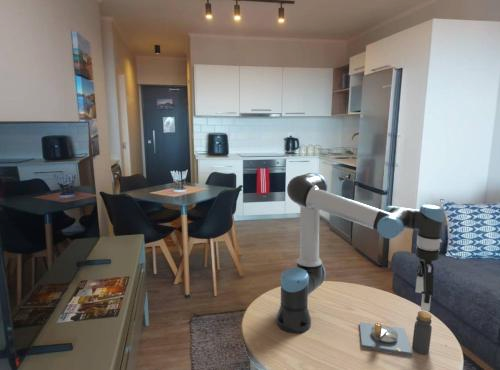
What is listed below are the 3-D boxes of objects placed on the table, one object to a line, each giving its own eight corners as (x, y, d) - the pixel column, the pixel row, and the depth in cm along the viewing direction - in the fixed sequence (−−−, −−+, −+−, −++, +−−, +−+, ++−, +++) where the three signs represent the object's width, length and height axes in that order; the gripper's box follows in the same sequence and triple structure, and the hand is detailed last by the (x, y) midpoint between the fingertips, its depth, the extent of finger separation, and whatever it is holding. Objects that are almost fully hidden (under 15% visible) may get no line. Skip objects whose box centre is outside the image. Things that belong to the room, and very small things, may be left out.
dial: (372, 343, 129) (373, 325, 128) (370, 326, 141) (371, 309, 139) (400, 348, 127) (401, 330, 126) (395, 330, 138) (396, 313, 137)
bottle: (432, 353, 127) (436, 317, 124) (419, 356, 125) (424, 319, 123) (420, 343, 132) (424, 309, 130) (408, 346, 131) (412, 311, 128)
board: (361, 348, 129) (361, 345, 129) (359, 324, 145) (359, 321, 145) (412, 357, 125) (412, 353, 124) (404, 331, 140) (404, 327, 140)
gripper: (447, 261, 109) (440, 320, 113) (432, 237, 132) (427, 287, 136) (421, 258, 111) (415, 316, 115) (412, 235, 135) (407, 284, 138)
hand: (422, 300), depth 125 cm, fingers open, 13 cm apart
